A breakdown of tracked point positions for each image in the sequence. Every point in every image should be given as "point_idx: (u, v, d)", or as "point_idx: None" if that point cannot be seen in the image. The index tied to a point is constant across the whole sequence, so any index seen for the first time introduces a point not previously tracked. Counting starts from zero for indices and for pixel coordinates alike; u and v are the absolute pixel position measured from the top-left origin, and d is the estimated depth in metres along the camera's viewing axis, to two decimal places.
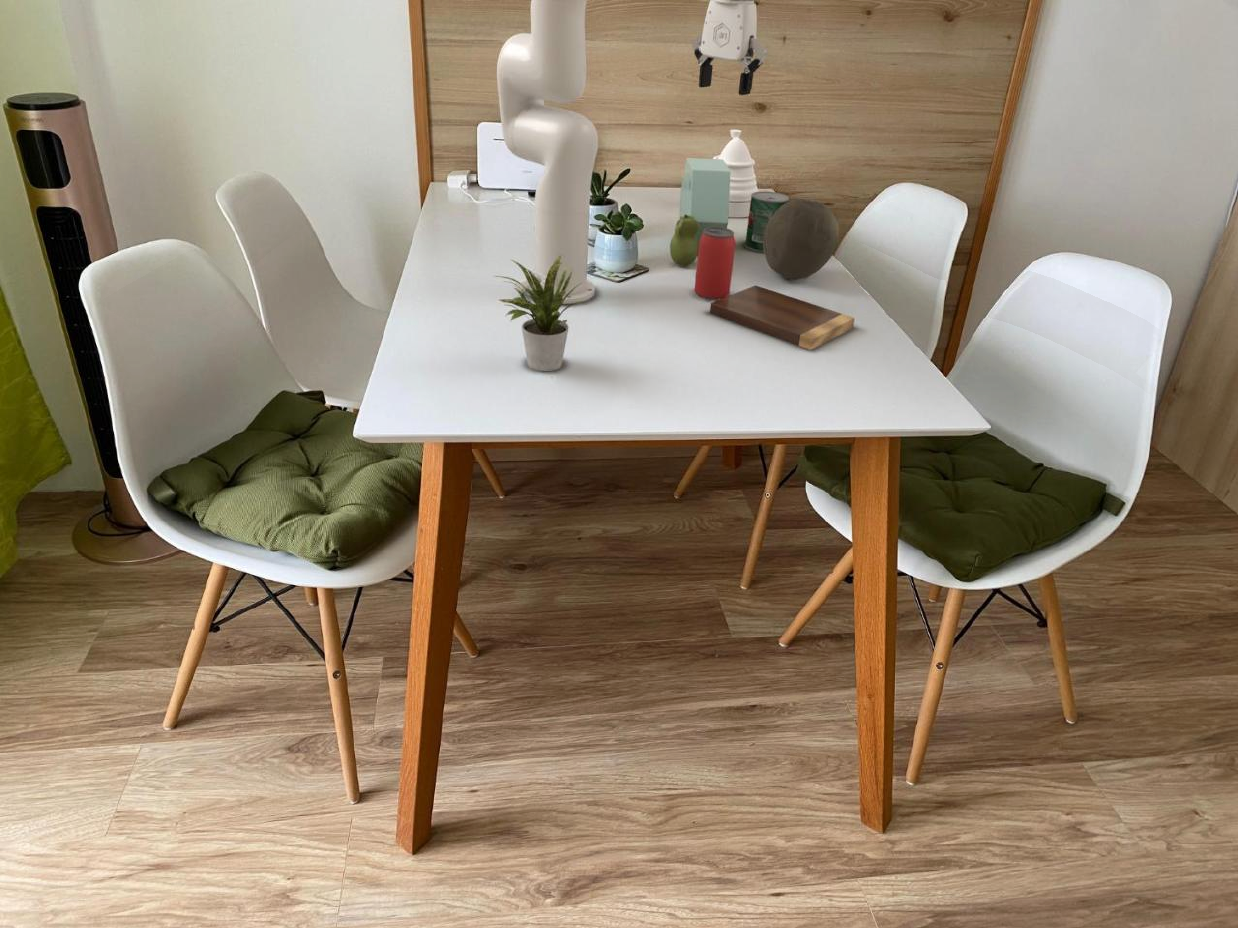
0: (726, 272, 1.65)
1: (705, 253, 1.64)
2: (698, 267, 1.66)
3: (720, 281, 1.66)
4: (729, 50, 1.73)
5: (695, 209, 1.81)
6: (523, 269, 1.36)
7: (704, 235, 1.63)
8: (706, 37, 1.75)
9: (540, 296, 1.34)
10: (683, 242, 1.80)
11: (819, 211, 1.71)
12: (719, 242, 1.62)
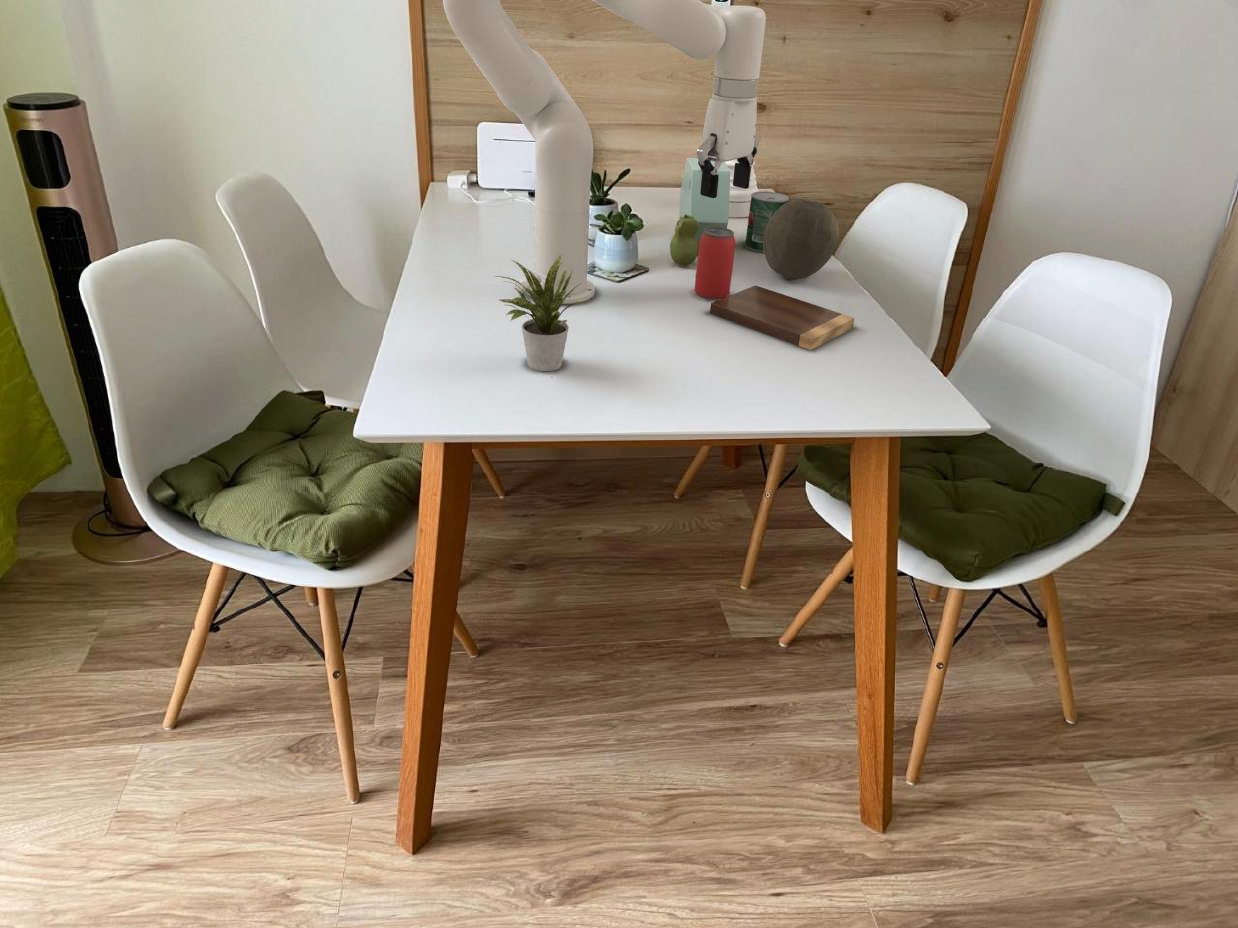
0: (726, 272, 1.65)
1: (705, 253, 1.64)
2: (698, 267, 1.66)
3: (720, 281, 1.66)
4: None
5: (695, 209, 1.81)
6: (523, 269, 1.36)
7: (704, 235, 1.63)
8: None
9: (540, 296, 1.34)
10: (683, 242, 1.80)
11: (819, 211, 1.71)
12: (719, 242, 1.62)
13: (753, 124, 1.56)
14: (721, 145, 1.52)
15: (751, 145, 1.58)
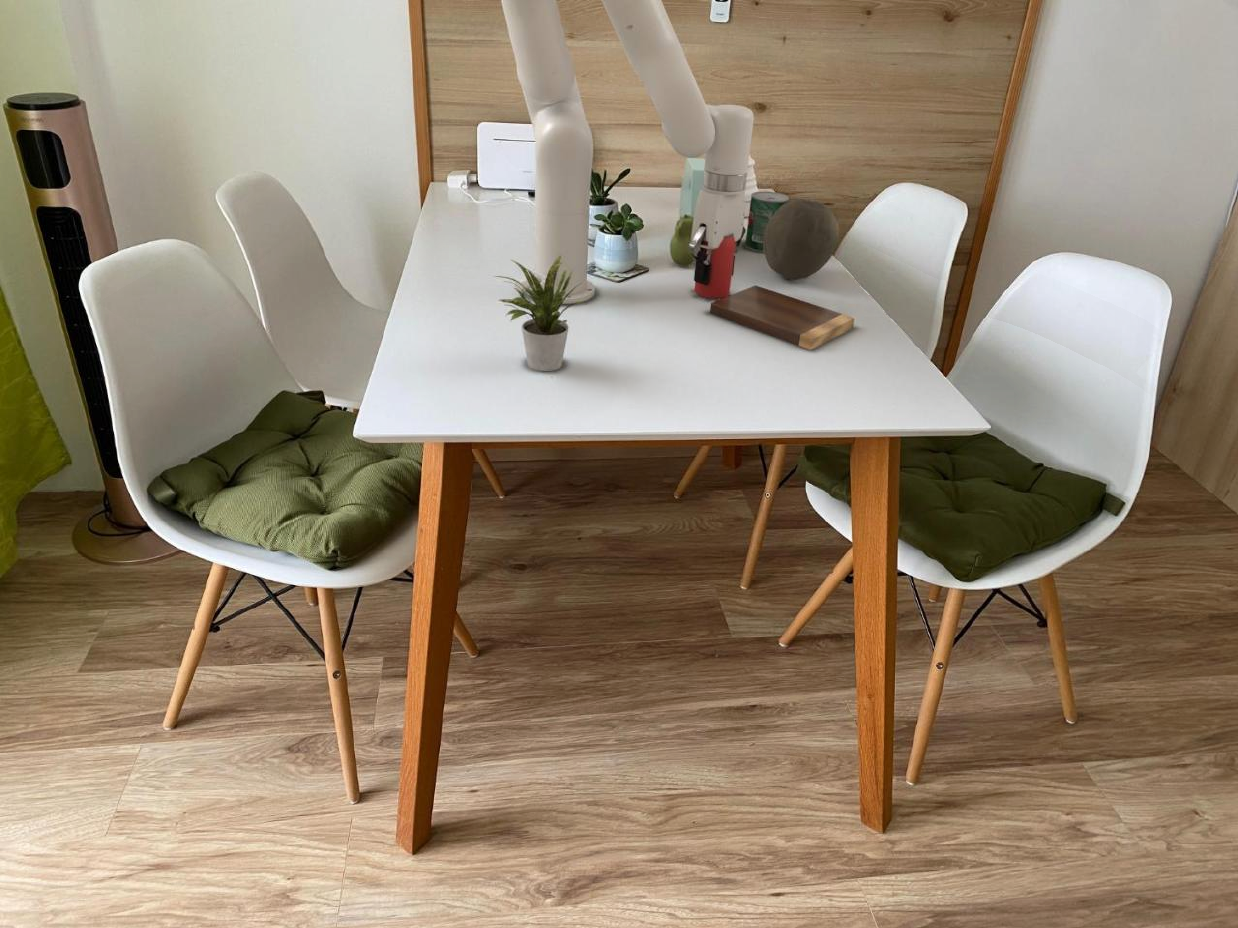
0: (726, 272, 1.65)
1: (705, 253, 1.64)
2: None
3: (720, 281, 1.66)
4: None
5: None
6: (523, 269, 1.36)
7: None
8: None
9: (540, 296, 1.34)
10: (683, 242, 1.80)
11: (819, 211, 1.71)
12: None
13: (741, 213, 1.63)
14: (710, 234, 1.59)
15: (739, 232, 1.65)
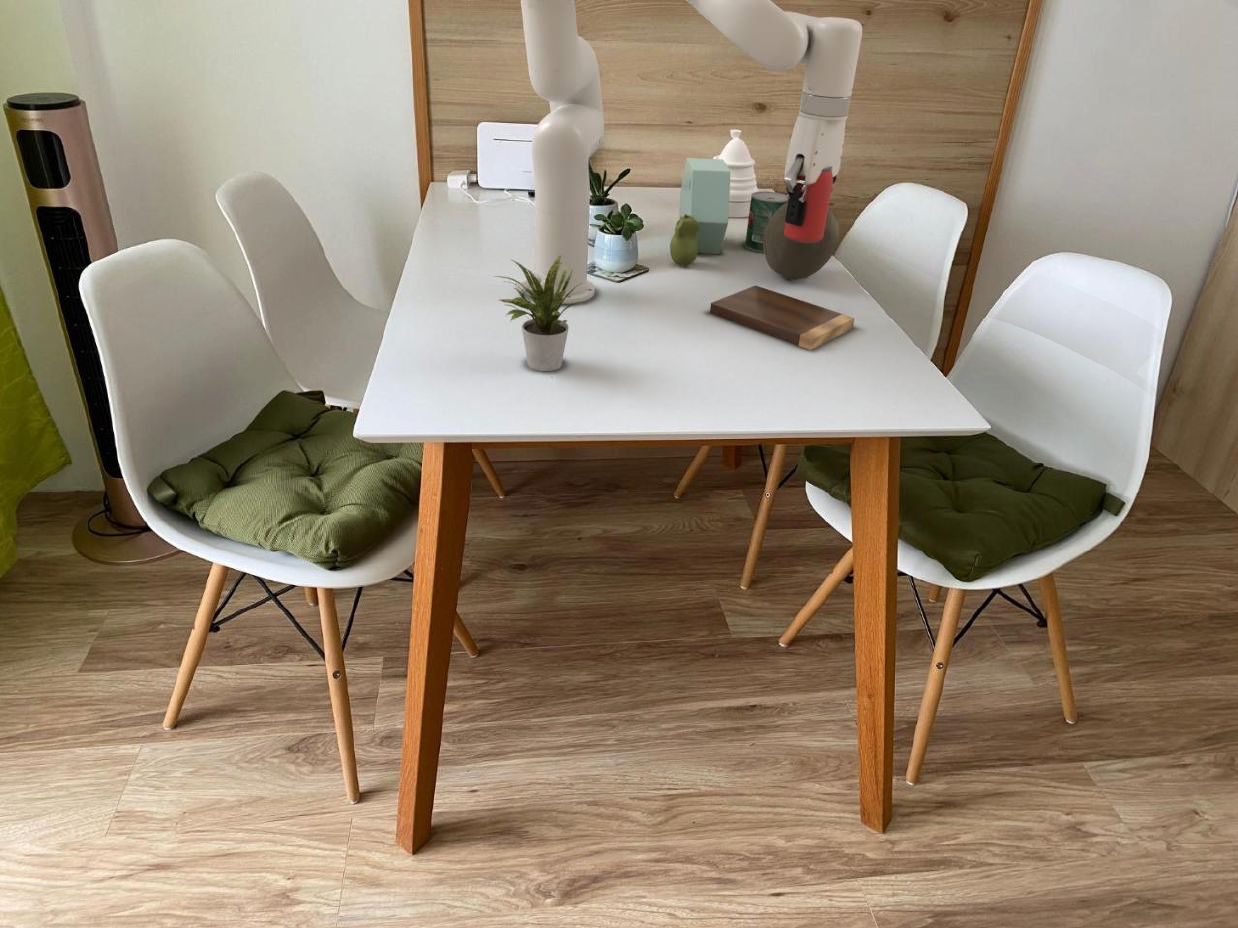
0: (822, 211, 1.47)
1: None
2: None
3: (816, 221, 1.47)
4: None
5: (695, 209, 1.81)
6: (523, 269, 1.36)
7: None
8: None
9: (540, 296, 1.34)
10: (683, 242, 1.80)
11: None
12: None
13: (841, 144, 1.45)
14: (808, 166, 1.41)
15: (837, 166, 1.47)
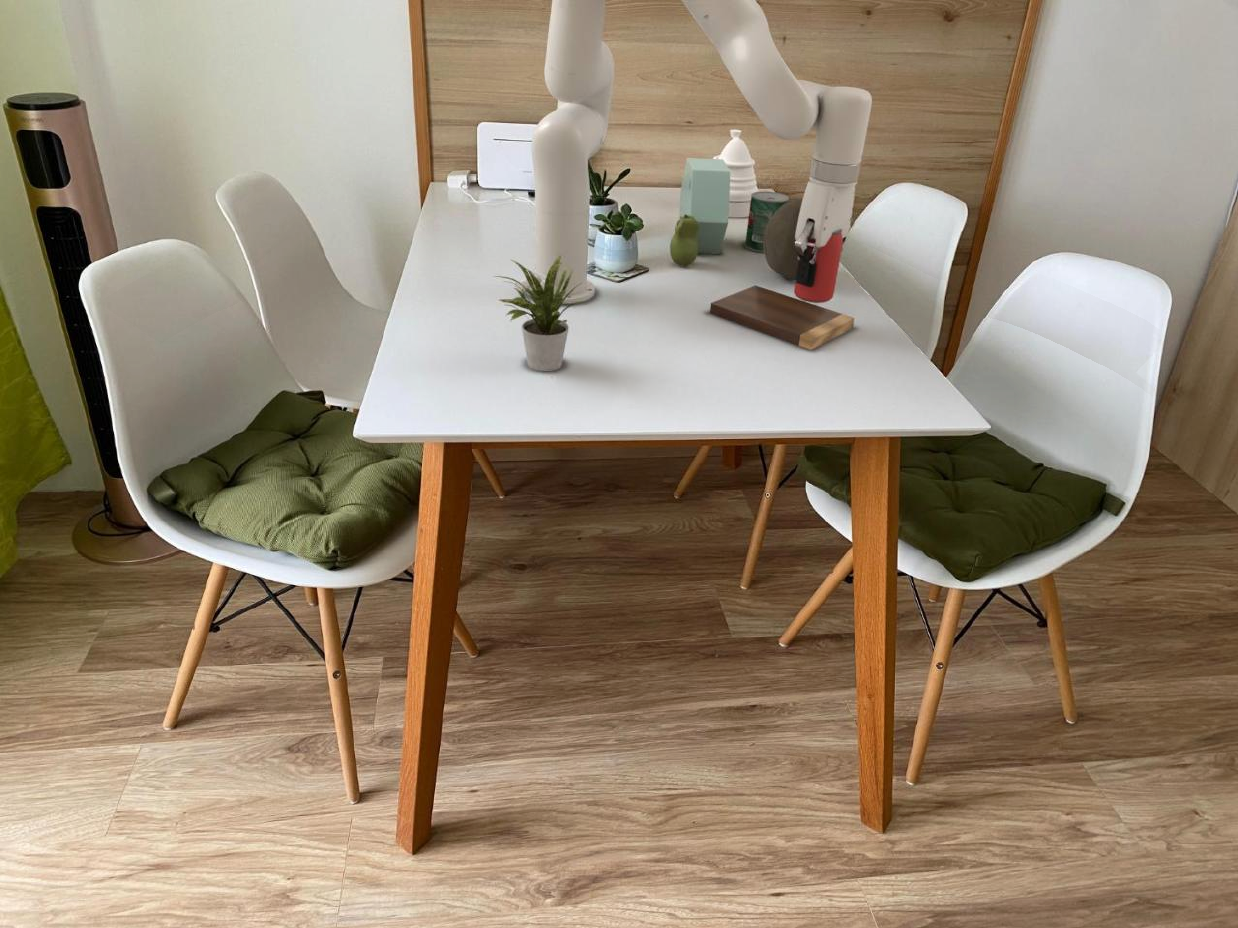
0: (832, 272, 1.50)
1: None
2: None
3: (826, 282, 1.50)
4: None
5: (695, 209, 1.81)
6: (523, 269, 1.36)
7: None
8: None
9: (540, 296, 1.34)
10: (683, 242, 1.80)
11: None
12: None
13: (850, 207, 1.48)
14: (818, 231, 1.44)
15: (846, 228, 1.50)
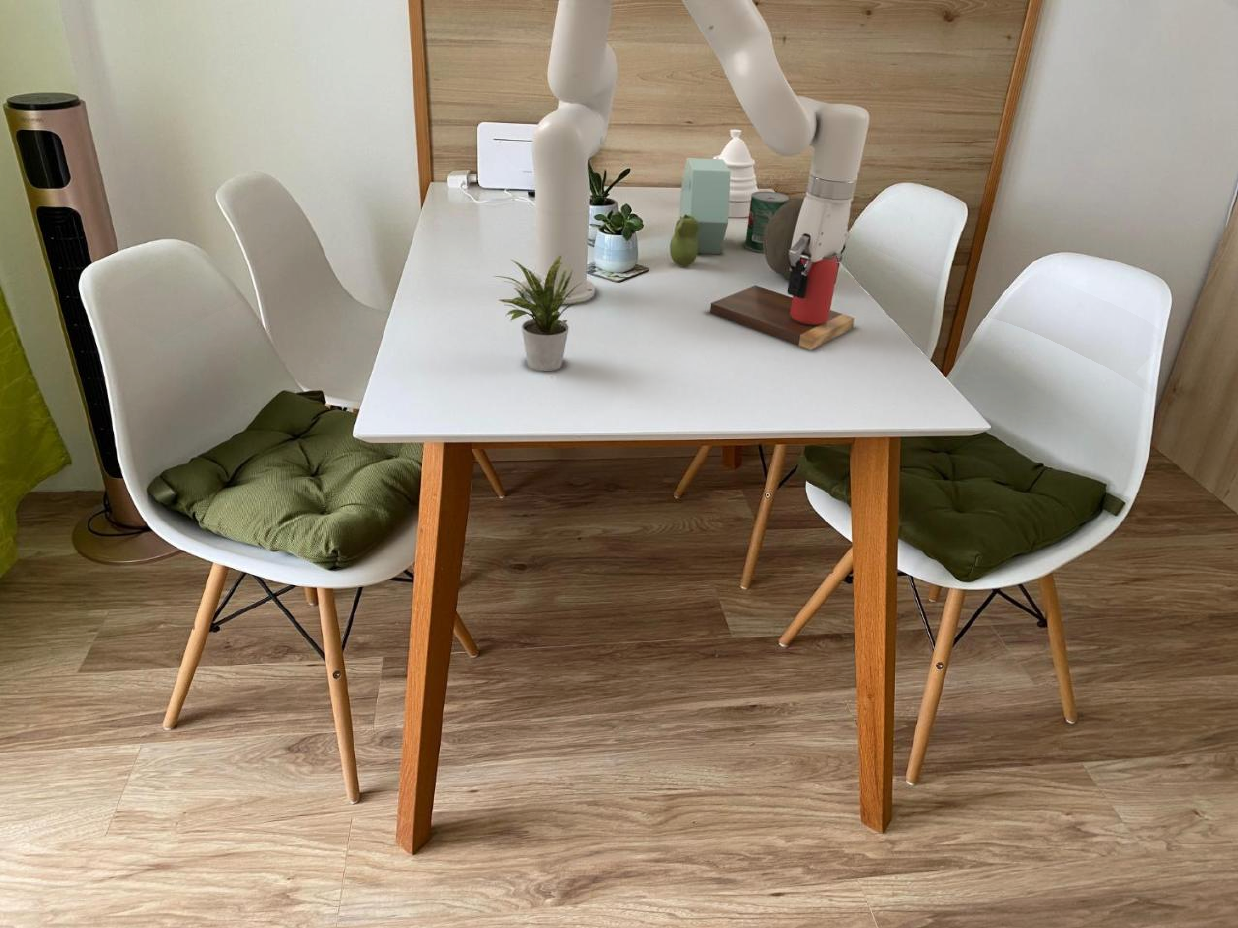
0: (827, 296, 1.52)
1: None
2: None
3: (821, 305, 1.52)
4: None
5: (695, 209, 1.81)
6: (523, 269, 1.36)
7: None
8: None
9: (540, 296, 1.34)
10: (683, 242, 1.80)
11: None
12: (822, 263, 1.49)
13: (846, 223, 1.49)
14: (814, 246, 1.45)
15: (842, 243, 1.51)
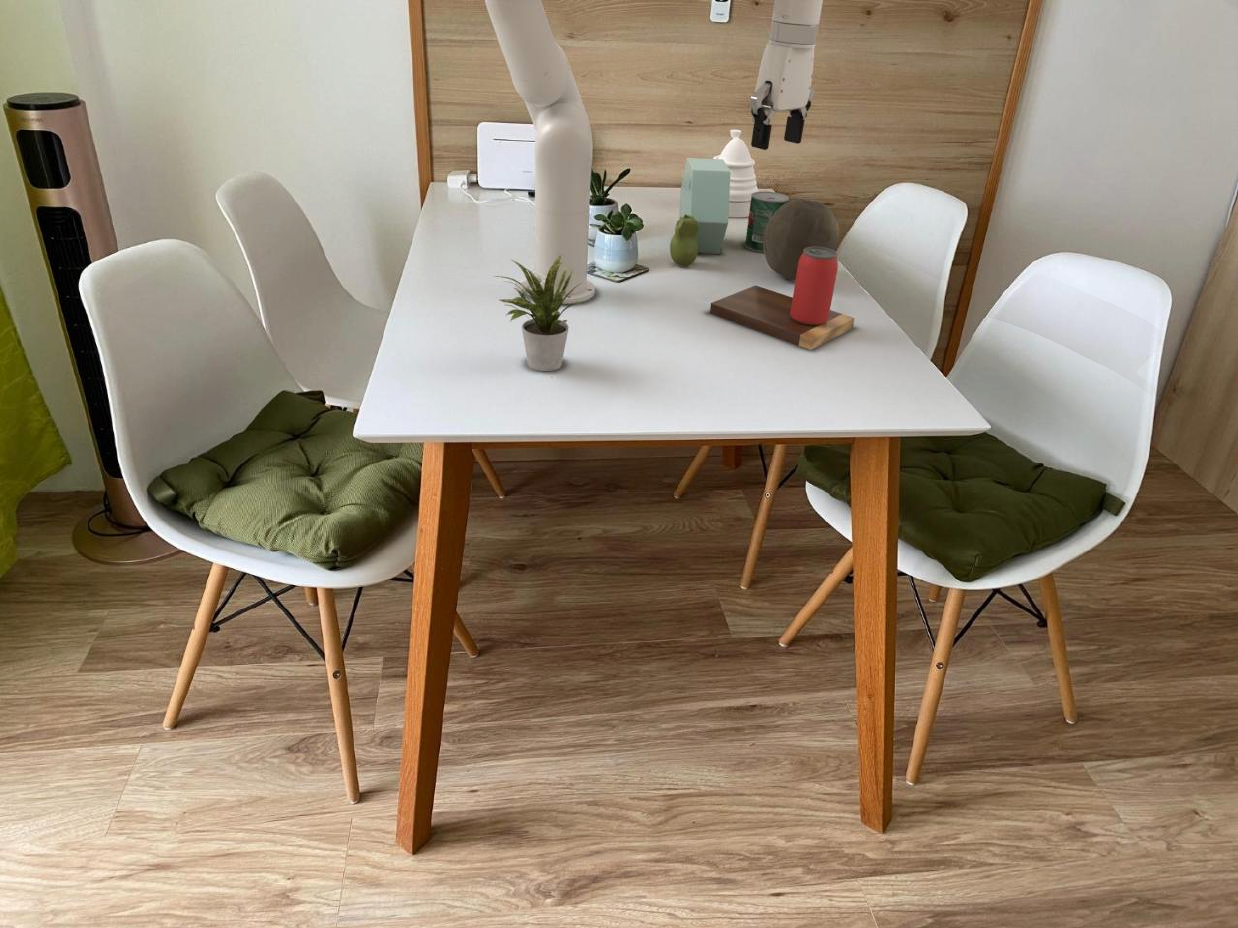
0: (827, 296, 1.52)
1: (805, 275, 1.50)
2: (796, 290, 1.53)
3: (821, 305, 1.52)
4: None
5: (695, 209, 1.81)
6: (523, 269, 1.36)
7: (805, 256, 1.50)
8: None
9: (540, 296, 1.34)
10: (683, 242, 1.80)
11: (819, 211, 1.71)
12: (822, 263, 1.49)
13: (809, 74, 1.50)
14: (775, 93, 1.46)
15: (806, 96, 1.52)
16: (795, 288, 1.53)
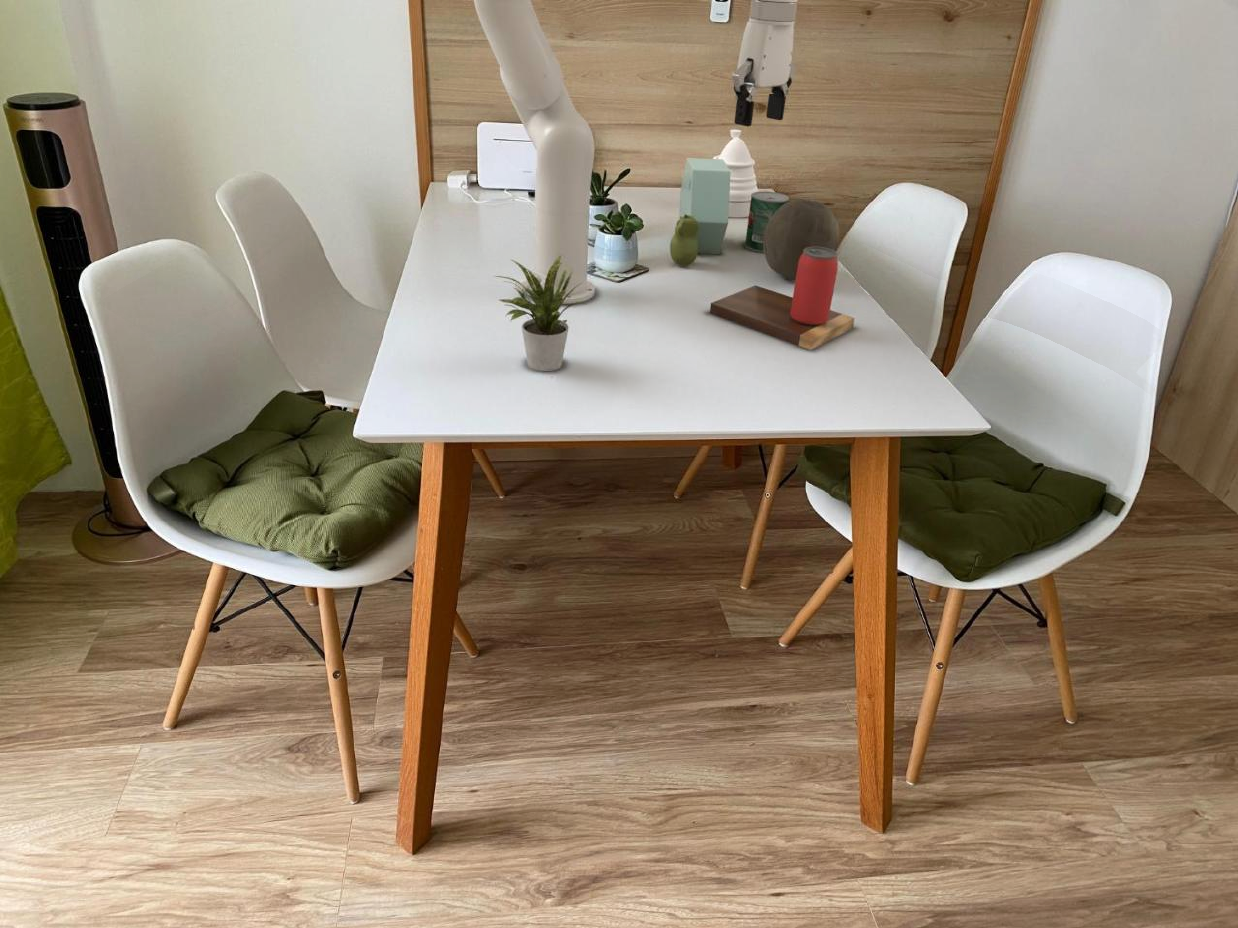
0: (827, 296, 1.52)
1: (805, 275, 1.50)
2: (796, 290, 1.53)
3: (821, 305, 1.52)
4: None
5: (695, 209, 1.81)
6: (523, 269, 1.36)
7: (805, 256, 1.50)
8: None
9: (540, 296, 1.34)
10: (683, 242, 1.80)
11: (819, 211, 1.71)
12: (822, 263, 1.49)
13: (789, 51, 1.54)
14: (757, 70, 1.50)
15: (786, 73, 1.55)
16: (795, 288, 1.53)
